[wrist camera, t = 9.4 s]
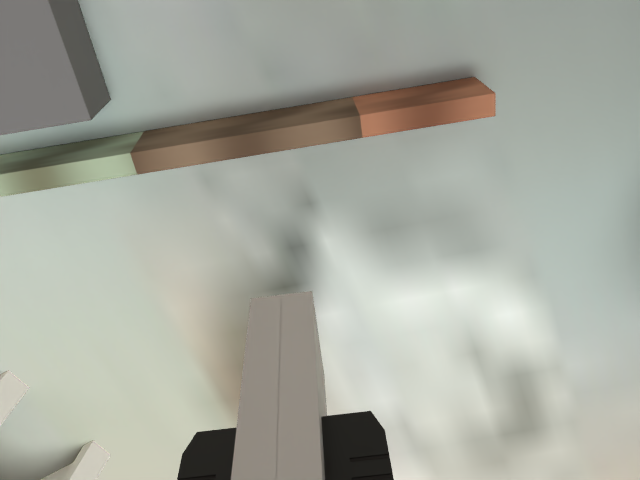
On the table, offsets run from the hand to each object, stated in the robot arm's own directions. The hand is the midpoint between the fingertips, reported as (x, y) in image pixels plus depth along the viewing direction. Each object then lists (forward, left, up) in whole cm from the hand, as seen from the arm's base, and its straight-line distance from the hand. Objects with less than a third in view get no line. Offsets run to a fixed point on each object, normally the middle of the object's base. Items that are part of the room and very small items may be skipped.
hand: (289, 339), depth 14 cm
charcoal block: (+13, -5, -21) cm, 25 cm away
